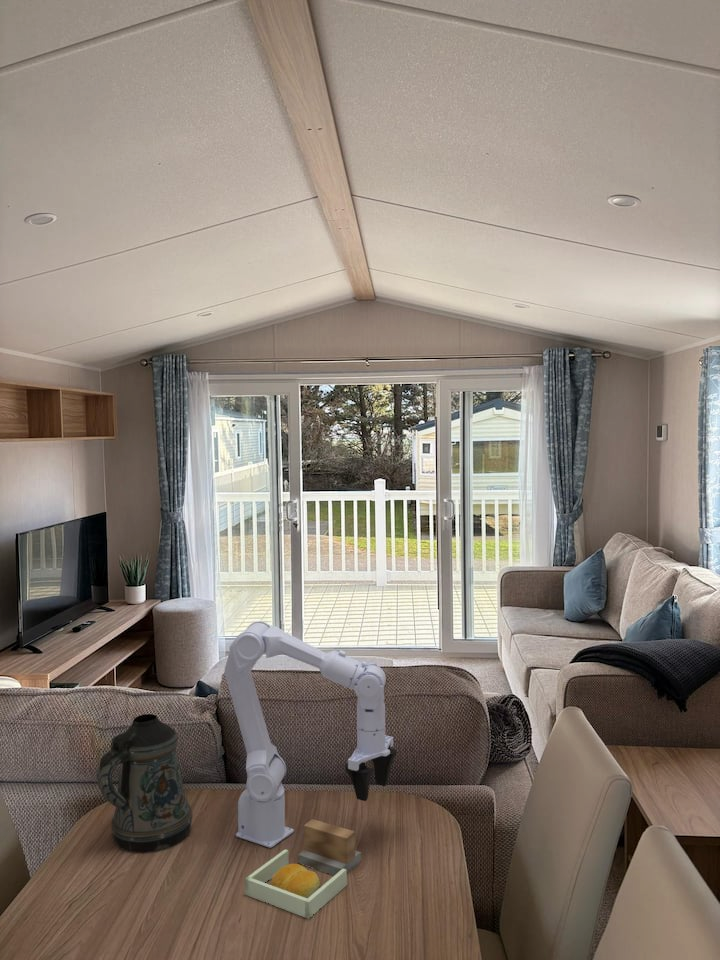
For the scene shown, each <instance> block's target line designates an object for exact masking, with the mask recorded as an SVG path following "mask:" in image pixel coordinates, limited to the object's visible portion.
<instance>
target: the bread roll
mask: <svg viewBox="0 0 720 960" xmlns="http://www.w3.org/2000/svg"><path fill="white" fill-rule="evenodd" d="M270 885H272V886H275V887H277V888H280V889H283V890H286V891H288V892H291V893H294V894H296V895H299V896H302V897H305V898H307V899H308V898H309V897H310V896H311V895H312V894H313V893H315V892H316V891H317V890H318V889H319V888H320V886H321V882H320V879H319V876H318V874H317V873H316V872H314V871H313V870H308V869H307V868H306V866H303V865H300V864H298V863H289V864H288V865H285V866H283V867H282V868H281V869H279V870H278V871H277V872H276V873H275V874H274V876H273V877H272V878H271V880H270Z"/></svg>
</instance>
